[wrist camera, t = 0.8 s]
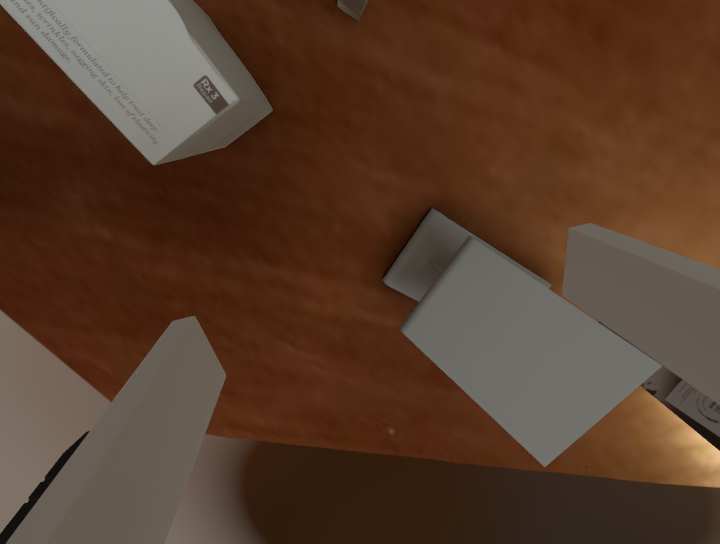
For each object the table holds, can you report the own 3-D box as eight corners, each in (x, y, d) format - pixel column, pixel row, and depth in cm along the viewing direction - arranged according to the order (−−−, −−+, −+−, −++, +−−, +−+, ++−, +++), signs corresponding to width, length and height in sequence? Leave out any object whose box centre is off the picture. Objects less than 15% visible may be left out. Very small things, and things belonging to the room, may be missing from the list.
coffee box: (607, 361, 45) (742, 472, 31) (641, 327, 43) (803, 428, 29) (646, 380, 48) (788, 490, 33) (680, 349, 46) (847, 452, 31)
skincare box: (156, 61, 26) (-32, -15, 12) (212, 13, 25) (76, -127, 11) (229, 152, 29) (145, 172, 15) (280, 112, 28) (239, 97, 15)
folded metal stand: (380, 276, 36) (436, 426, 18) (429, 205, 33) (554, 298, 15) (495, 336, 41) (627, 498, 23) (545, 280, 38) (741, 415, 20)
